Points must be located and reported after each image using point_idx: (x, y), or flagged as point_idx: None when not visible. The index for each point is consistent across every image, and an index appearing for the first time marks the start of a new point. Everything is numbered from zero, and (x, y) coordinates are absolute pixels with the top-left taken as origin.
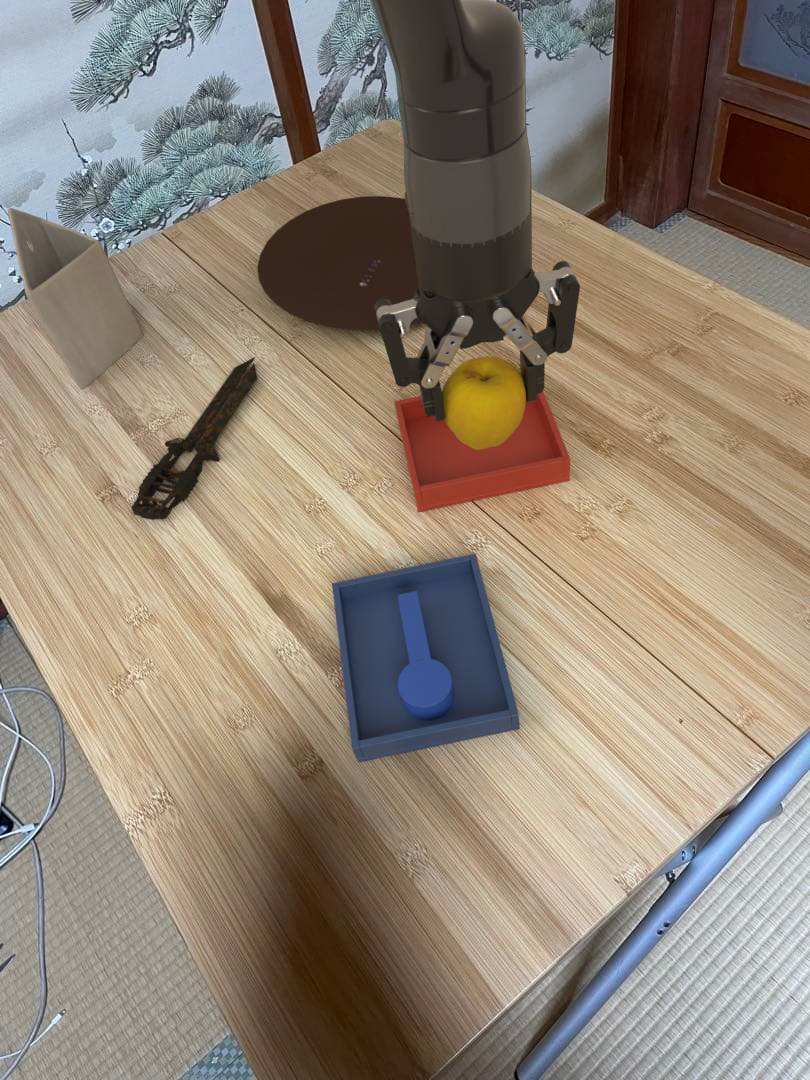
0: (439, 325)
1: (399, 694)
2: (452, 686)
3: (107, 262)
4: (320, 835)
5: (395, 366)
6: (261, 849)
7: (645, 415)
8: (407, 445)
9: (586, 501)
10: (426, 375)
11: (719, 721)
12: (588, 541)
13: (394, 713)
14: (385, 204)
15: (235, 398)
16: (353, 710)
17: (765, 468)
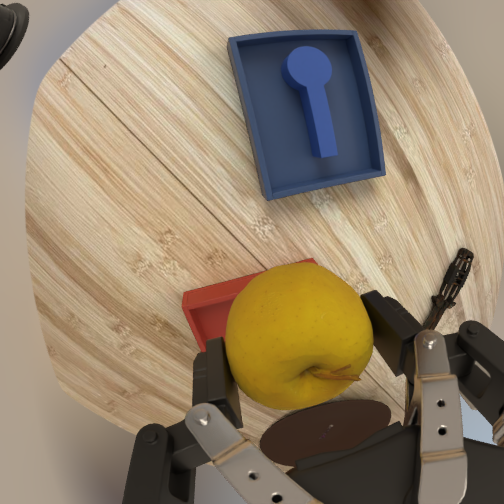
0: (472, 456)
1: None
2: (285, 64)
3: (466, 400)
4: (359, 3)
5: (501, 347)
6: (388, 7)
7: (133, 349)
8: None
9: (168, 271)
10: (442, 350)
11: (80, 72)
12: (164, 228)
13: None
14: None
15: None
16: (360, 57)
17: (51, 298)
